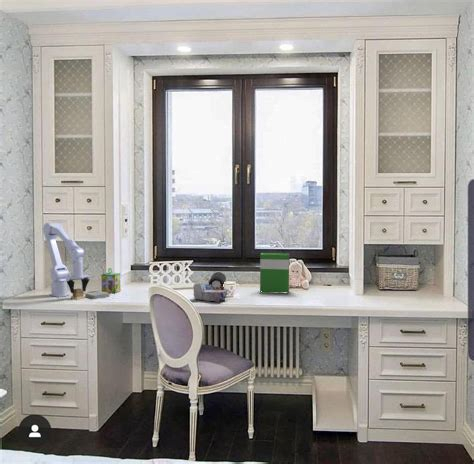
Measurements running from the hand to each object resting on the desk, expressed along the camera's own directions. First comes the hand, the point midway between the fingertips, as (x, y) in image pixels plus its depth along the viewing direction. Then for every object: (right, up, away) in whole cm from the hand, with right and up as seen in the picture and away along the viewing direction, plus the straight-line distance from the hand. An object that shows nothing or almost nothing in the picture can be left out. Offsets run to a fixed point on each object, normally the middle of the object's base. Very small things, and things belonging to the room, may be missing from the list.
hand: (78, 292), depth 340 cm
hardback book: (+116, -3, +26) cm, 119 cm away
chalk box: (+15, -2, +22) cm, 27 cm away
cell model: (+78, -5, -2) cm, 78 cm away
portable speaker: (+80, -2, +34) cm, 87 cm away
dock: (+10, -3, +6) cm, 12 cm away
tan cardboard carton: (0, -4, 0) cm, 4 cm away
